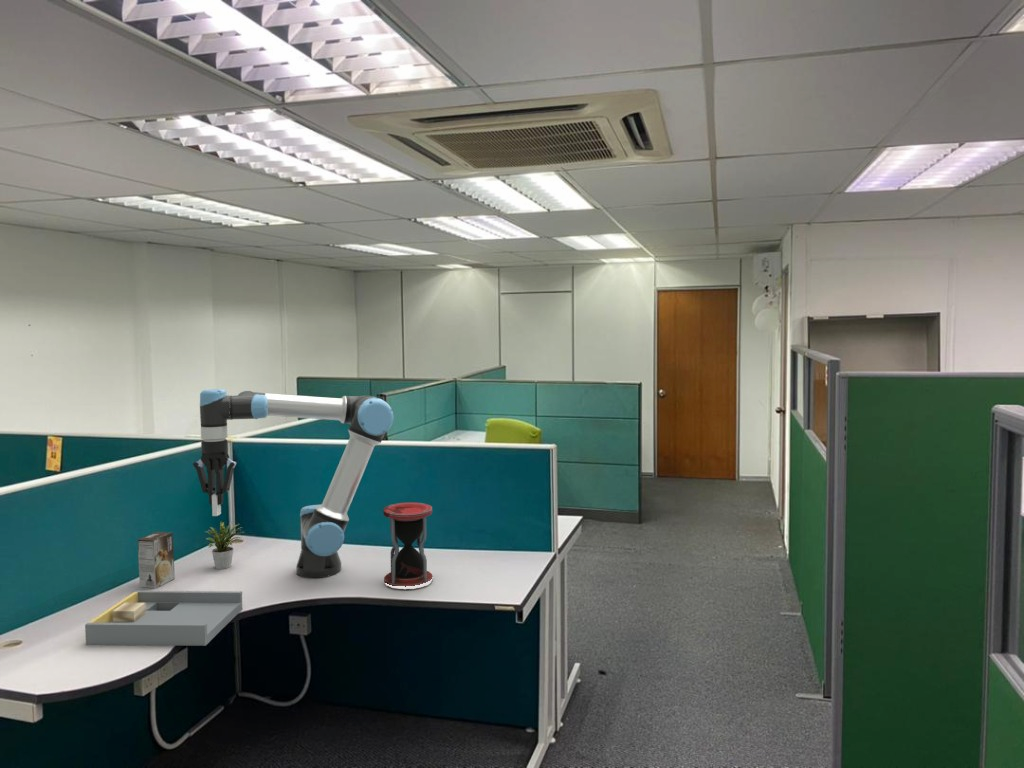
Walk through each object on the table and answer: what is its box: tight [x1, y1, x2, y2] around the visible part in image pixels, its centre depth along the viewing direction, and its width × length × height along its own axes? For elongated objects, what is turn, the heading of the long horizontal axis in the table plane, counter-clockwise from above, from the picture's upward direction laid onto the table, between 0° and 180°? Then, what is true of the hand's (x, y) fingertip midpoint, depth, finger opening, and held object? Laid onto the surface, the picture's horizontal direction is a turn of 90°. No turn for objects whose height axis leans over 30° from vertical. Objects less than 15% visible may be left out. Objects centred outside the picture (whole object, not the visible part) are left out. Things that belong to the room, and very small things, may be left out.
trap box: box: [84, 590, 243, 647], centre depth 194 cm, size 32×24×6 cm
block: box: [112, 603, 146, 622], centre depth 194 cm, size 6×6×3 cm
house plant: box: [205, 521, 244, 570], centre depth 241 cm, size 14×14×16 cm
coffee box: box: [137, 531, 176, 589], centre depth 227 cm, size 9×6×16 cm
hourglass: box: [382, 502, 434, 587], centre depth 228 cm, size 16×16×25 cm
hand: (216, 514), depth 213 cm, fingers closed
